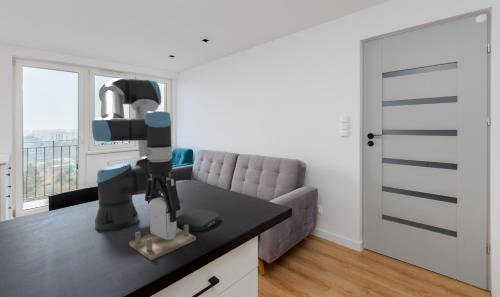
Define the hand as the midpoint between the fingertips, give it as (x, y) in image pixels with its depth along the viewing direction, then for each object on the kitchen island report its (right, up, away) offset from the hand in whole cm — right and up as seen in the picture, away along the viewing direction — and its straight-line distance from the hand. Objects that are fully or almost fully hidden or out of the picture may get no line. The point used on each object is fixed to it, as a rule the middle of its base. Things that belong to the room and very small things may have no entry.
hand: (162, 226), depth 80 cm
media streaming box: (+8, -4, +17) cm, 20 cm away
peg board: (0, -5, 0) cm, 5 cm away
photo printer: (0, -3, 0) cm, 3 cm away
